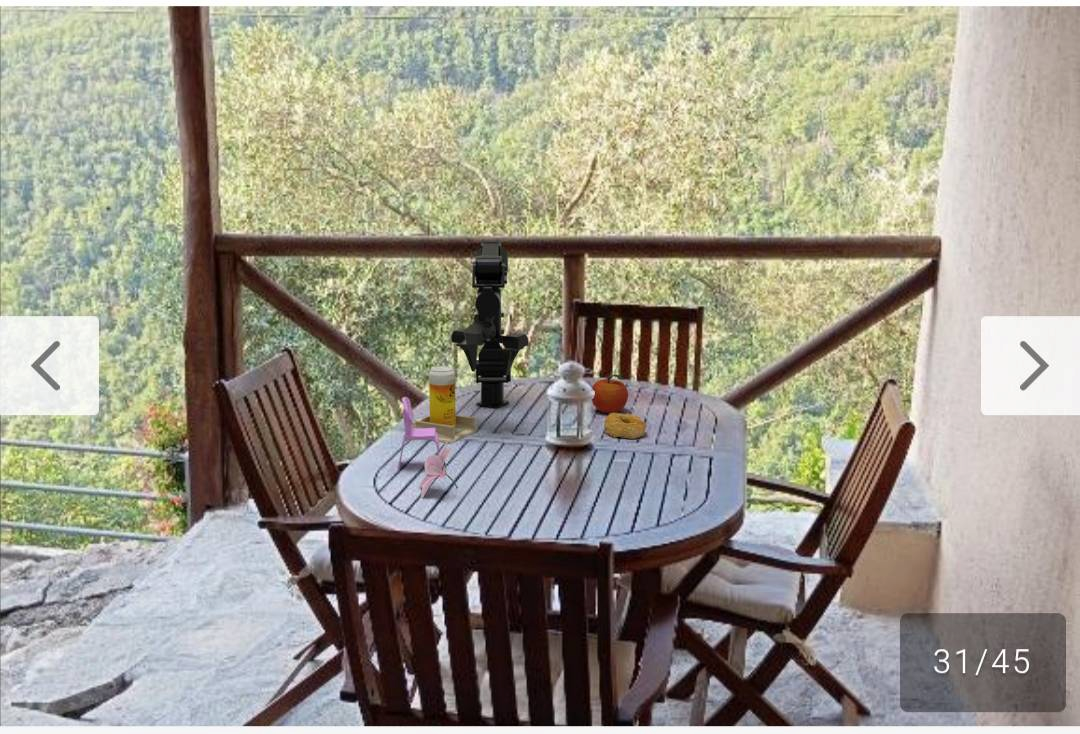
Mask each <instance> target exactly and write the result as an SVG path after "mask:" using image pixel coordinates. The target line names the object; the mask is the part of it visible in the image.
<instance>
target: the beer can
mask: <svg viewBox="0 0 1080 734" xmlns="http://www.w3.org/2000/svg"><path fill="white" fill-rule="evenodd" d="M428 382H429V383H428V384H429V385H428V387H429V388H428V389H429V415H430V423H436V424H443V425H449V426H455V427H456V415H457V414H456V413H457V412H456V409H457V407H456V373H455V371H454V367H451V366H447V365H439V366H433V367H431V368H430V371H429V372H428Z"/></svg>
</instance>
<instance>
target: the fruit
mask: <svg viewBox="0 0 1080 734" xmlns="http://www.w3.org/2000/svg"><path fill="white" fill-rule="evenodd" d="M613 377H614V378H618V379H619V380H617V379H611V378H613ZM622 378H623V377H622V376H621V374H617V373H616V374H615V373H614V374H612V375H610V376H608V375H607V377H606V378H605V379H598V380H597V381H595V383H593V386H592V387H591V390H592V389H593V390H594V391H595V396H594V398H593V399H591V402H592V404H593V406H594V408H595V409H596V410H597V411H599V412H600V411H601V413H603V414H611V413H619V412H620V411H622V410H624V408H625V406H626V404H627V402H628V399H629V391H628V390H629V389H628V388H627V385H625V383H624V382H623V381H621V380H622Z"/></svg>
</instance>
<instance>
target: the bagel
mask: <svg viewBox="0 0 1080 734" xmlns="http://www.w3.org/2000/svg"><path fill="white" fill-rule="evenodd" d="M604 428H605V433H606V434H607V435H608V434H609V435H611V436H610V437H612V436H615V437H621V438H620V439H625V438H629V439H628V440H637V439H638V438H642V437H643V436H645V433H646V428H647V425H646V423H644V421H643V420H642V419H641V417H640V416H638V415H636V414H635V415H634V414H631V413H619V412H617V413H608V415H607V416H606V417H605V419H604ZM609 435H608V436H609ZM615 437H614V438H615ZM636 438H637V439H636Z"/></svg>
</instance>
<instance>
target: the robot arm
mask: <svg viewBox="0 0 1080 734" xmlns="http://www.w3.org/2000/svg"><path fill="white" fill-rule="evenodd" d="M480 246H481V247H480V248H478V250H477V251H476V252H475V261H472V277H471V278H472V279H471V281H472V282H471V288H472V289H477V290H476V299H475V302H474V303H475V306H474V307H475V309H476V311H477V313H476V314H474V317H473V322H472V323H471V324H469V325H468V326H467V327H461V328H458V329H454V330H453V331H452V332H451V334H450V342H451V343H455V346H456V347H459V348H460V349H461V350H462V351H463V353H464V356H465V357H466V360H467V362H468V364H469V367H470V370H471V372H475V380H476V384H480V387H481V388H480V401H478V402H476V403H475V404H476V406H482V407H488V408H489V407H490V408H500V407H502V406H504V405H506V404H509V403H510V402H509V400H505V395H504V394H505V392H504V391H505V389H504V387H505V386H504V385H505V384H509V383H510V382H511V381H512V367H513V364H514V362H515V360H516V358H517V356H518V354H519V352H520V351H521V350H523V349H524V348H526V347H527V346H529V344H530V343H529V341H530V340H529V337H528V335H527V334H526V333H517V332H513V333H509V334H506V335H504V334H505V329H502V318H505V313H504V312H502V290H501V289H502V288H503V289H505V285H507V284H508V272H509V255H508V254H509V253H508V251H507V250H505V249H504V248H503V247H502V243H501V242H500V241H498V240H485V241H482V242H481V243H480ZM501 344H502V345H503V347H504V348H502V345H501ZM479 346H481V347H482V348H481V349H480V350H479V353H478V347H479Z"/></svg>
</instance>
